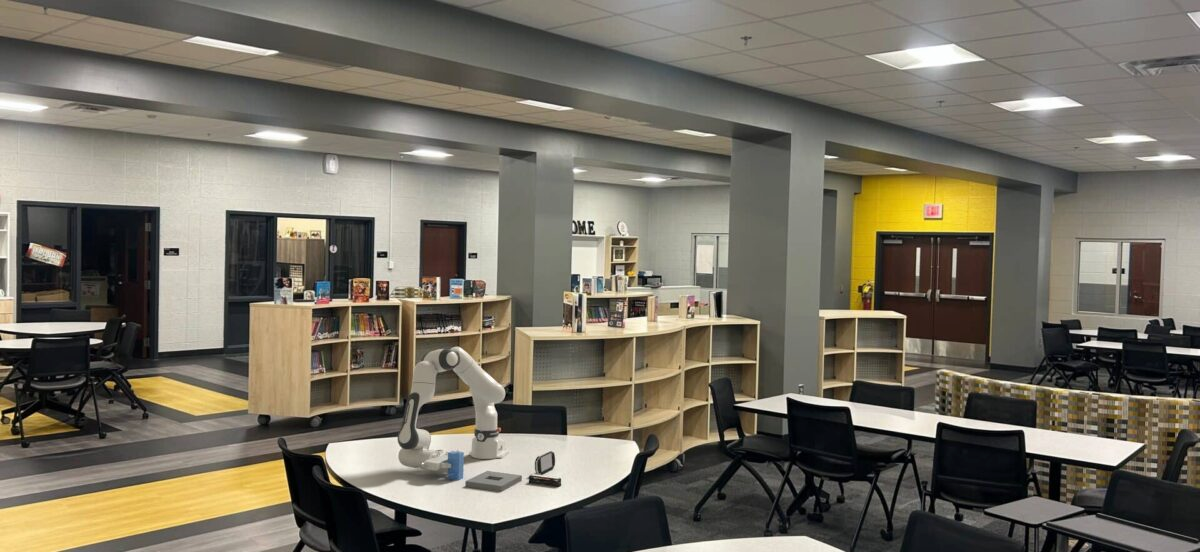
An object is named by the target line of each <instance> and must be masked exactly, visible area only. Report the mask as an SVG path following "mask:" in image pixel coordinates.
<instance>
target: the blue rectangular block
mask: <svg viewBox="0 0 1200 552" xmlns="http://www.w3.org/2000/svg"><path fill="white" fill-rule="evenodd" d="M448 452H449V453H448V463H452V467H451V468H447V469H446V470H447V477H446V479H447V480H453V481H461V480H462V479H464V462H465V459H464V457H465V453H464V451H461V449H457V450H455V451H454V450H452V451H451V450H450V451H448Z"/></svg>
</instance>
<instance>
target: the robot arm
mask: <svg viewBox="0 0 1200 552" xmlns="http://www.w3.org/2000/svg"><path fill="white" fill-rule="evenodd" d="M451 370H453V372H454V373H455V374H456V375H457V376H458V377H459V378H460V380H462V382H463V383H464V384H466V385H467V386H468V387H469V393H470V395H471V397H472V400H473V407H474V410H475V428H474V431H473V433H474V434H473V435H474V437H473V438H472V440H471V450H470V451H468V452H469V453H468V454H469V455H470V456H471V458H474V459H478V460H480V459H481V460H493V459H494V460H495V459H502V458H504V457H505V456H506V455H507V454H509V453H510V450H509V449H506V447H505V446H506V443H505V440H504V439H503V438H502V437H501V436H500V433H501V431H502V429H501V427H498V412H497V410H496V407H495V404H500V403H502V402H503V401H504V400H505V397H506V390H505V387H503V386H502V384H501V383H499V382H498V381H497V380H496V379H495V378H493V377H492V376H491V375H490V374H489V373H488V372H486V371H485V370H484V369H483V368H482V367H481V366H480V365H479V364H478V362H476V361H475V359H474V358H473V357H472V356H471V355H470V354H469V353H468V352H467V351H466V350H464V349H463V348H462V347H460V346H454V347H451V348H440V349H436V350H432V351H428V352H426V353H425V354H423V356H422V358H421V359H420V361H419V362H417V363H416V364H415V367H414V370H413V373H412V374H413V375H412V380H411V387H410V394H409V395H408V397H407V400H406V404H405V408H404V412H403V413H404V414H403V418H402V423H401V427H400V429H399V431H398V434H397V443H398V445H399V447H400V450H399V451H398V461H399V463H400V464H401V465H402V466H405V467H408V468H414V469H419V468H420V469H422V470H430V471H439V470H441V469H446V468H447V469H448V468H451V467H452V463H448V453H449V452H450V451H444V450H443V449H437V450H433V449H432V450H431V449H430V446H431V442H432V435H431V434H430V432H429V431H428V430H426V429H423V428H417V420H418V416H419V411H420V408H421V407H422V406H423V405H424V404H427V403H429V402H430V401H431V400H432V399H433V398H434V395H435V392H436V381H437V374H438V373H443V372H447V371H451ZM429 449H430V450H429Z"/></svg>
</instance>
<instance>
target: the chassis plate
mask: <svg viewBox="0 0 1200 552" xmlns="http://www.w3.org/2000/svg"><path fill="white" fill-rule="evenodd" d="M522 479H523V475H521V474H516V473H505V472H499V471H491V470H490V471H489V470H486V471H484V472H482V473H479V474H477V475H476V476H473V477H471V478H469V479H467V480H465V488H472V489H480V490H486V491H487V490H488V491H494V492H501V493H502V492H504V491H505V490H508V489H510V488H511V487H513V486H515V485H517V484H518V483H521V482H522Z"/></svg>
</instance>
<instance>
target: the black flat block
mask: <svg viewBox="0 0 1200 552" xmlns="http://www.w3.org/2000/svg"><path fill="white" fill-rule="evenodd" d="M528 484H531V485H532V484H533V485H540V486H545V487H553V488H560V487H561V486H562V478H561V477H558V476H550V475H545V474H543V475H538V474H537V473H535V474H534V473H533V474H532V473H531V474H529V476H528Z"/></svg>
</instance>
